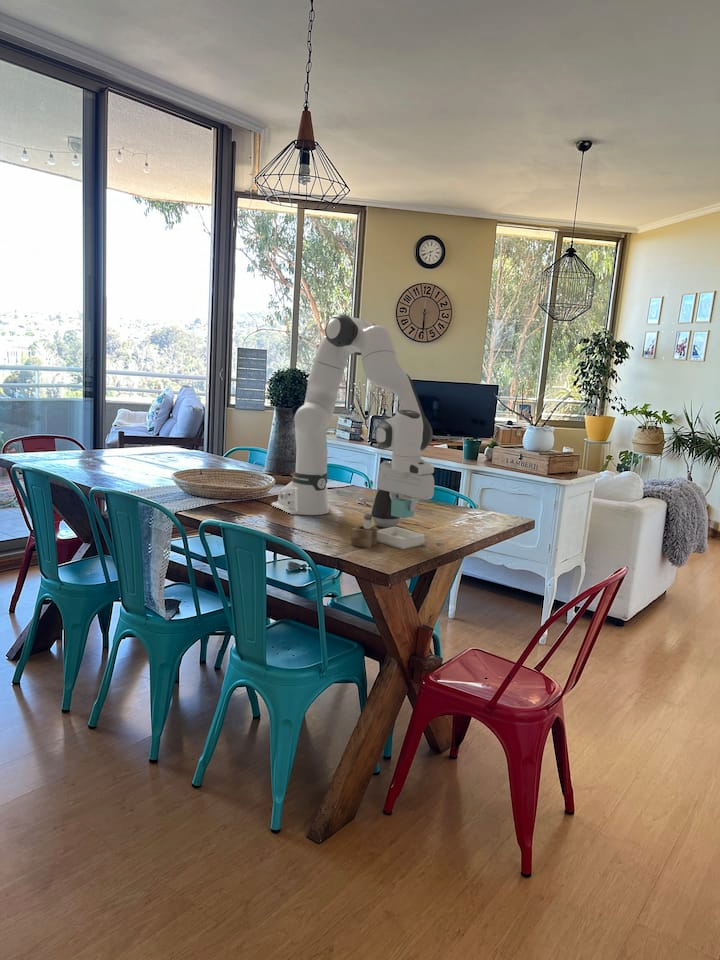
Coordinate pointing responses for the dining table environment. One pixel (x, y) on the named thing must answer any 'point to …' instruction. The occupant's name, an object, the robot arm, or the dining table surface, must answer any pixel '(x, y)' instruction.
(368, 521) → the pin gauge
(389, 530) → the tray
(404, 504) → the teal block
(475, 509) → the dining table surface
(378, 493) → the dark grey egg shape
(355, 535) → the walnut block
